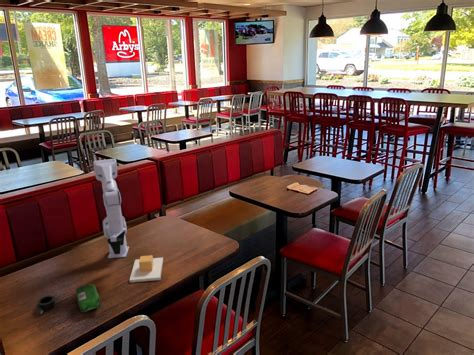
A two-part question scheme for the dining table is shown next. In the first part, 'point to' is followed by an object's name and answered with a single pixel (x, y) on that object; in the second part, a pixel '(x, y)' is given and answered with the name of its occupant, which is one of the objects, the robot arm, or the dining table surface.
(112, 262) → the dining table surface
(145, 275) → the post plate
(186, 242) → the dining table surface
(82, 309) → the snack package
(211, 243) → the dining table surface
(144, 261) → the tan wooden block
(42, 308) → the duct tape
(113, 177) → the robot arm
